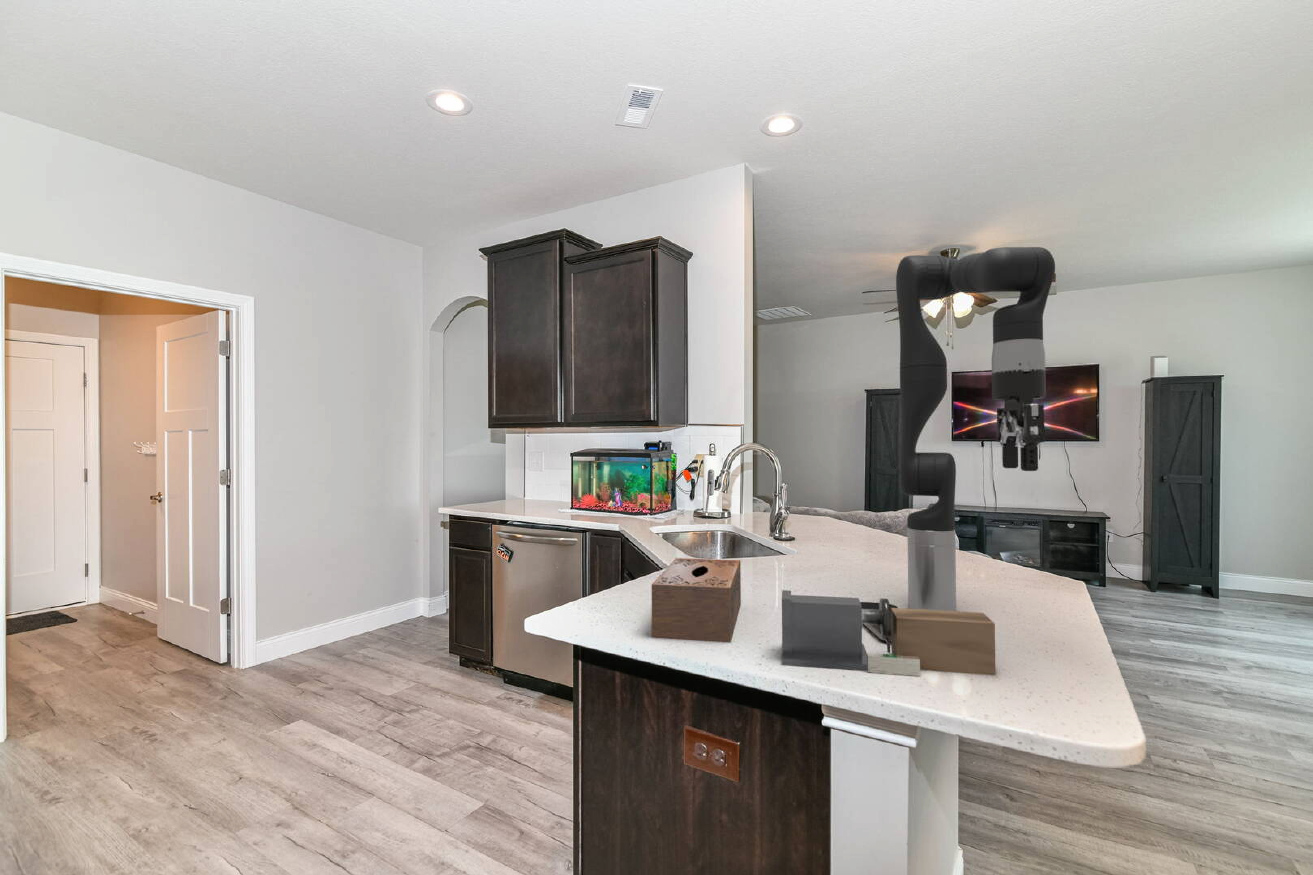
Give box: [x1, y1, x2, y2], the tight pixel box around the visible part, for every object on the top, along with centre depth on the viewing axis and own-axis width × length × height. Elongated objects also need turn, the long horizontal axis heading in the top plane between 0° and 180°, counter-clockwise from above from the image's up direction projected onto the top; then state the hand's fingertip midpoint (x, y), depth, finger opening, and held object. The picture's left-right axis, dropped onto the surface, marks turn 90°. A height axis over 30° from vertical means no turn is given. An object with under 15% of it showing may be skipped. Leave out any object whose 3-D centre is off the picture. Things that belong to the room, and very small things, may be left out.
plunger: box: [862, 598, 891, 654], centre depth 98 cm, size 8×13×7 cm, turn 77°
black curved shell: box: [860, 601, 899, 642], centre depth 113 cm, size 16×8×4 cm, turn 179°
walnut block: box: [890, 607, 996, 676], centre depth 96 cm, size 6×14×8 cm, turn 76°
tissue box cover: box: [651, 557, 742, 643], centre depth 121 cm, size 26×14×10 cm, turn 168°
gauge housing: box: [781, 589, 921, 677], centre depth 98 cm, size 11×20×10 cm, turn 77°
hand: (1019, 469), depth 98 cm, fingers open, 8 cm apart
